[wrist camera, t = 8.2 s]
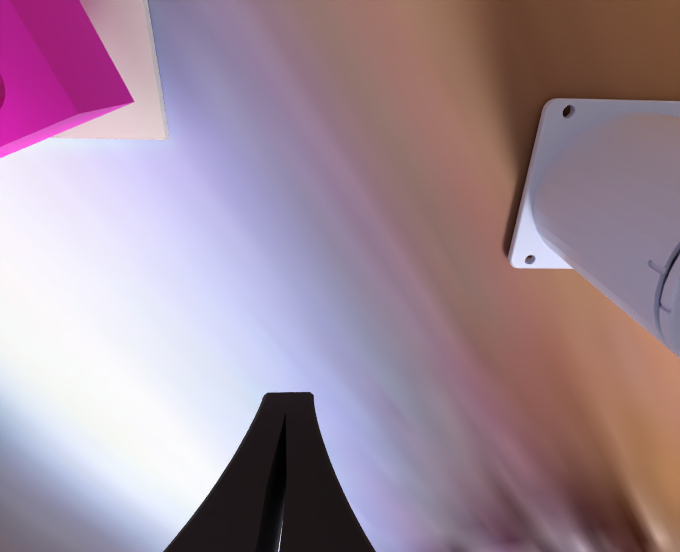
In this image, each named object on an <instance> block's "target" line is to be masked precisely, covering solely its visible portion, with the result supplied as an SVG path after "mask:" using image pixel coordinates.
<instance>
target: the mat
mask: <svg viewBox="0 0 680 552" xmlns="http://www.w3.org/2000/svg"><path fill="white" fill-rule="evenodd" d="M79 1H80V3H81V4H82V6H83V8H84V10H85V12H86V14H87V15H88V17H89V19H90V21H91V23H92V24H93V26H94V28H95V30H96V32H97V34H98V35H99V37H100V39H101V41H102V43H103V45H104V46H105V48H106V50H107V52H108V54H109V56H110V57H111V59H112V61H113V63H114V65H115V67H116V68H117V70H118V72H119V74H120V76H121V78H122V79H123V81H124V83H125V85H126V87H127V89H128V90H129V92H130V94H131V96H132V98H133V100H134V101H135V102H133V103H131V104H129V105H126V106H124V107H121V108H119V109H117V110H114V111H112V112H109V113H107V114H105V115H102V116H100V117H97V118H95V119H93V120H90V121H88V122H85V123H83V124H81V125H78V126H76V127H73V128H71V129H69V130H66V131H64V132H61V133H59V134H57V135H54V136H52V137H49V138H96V139H148V140H167V139H169V138H170V137H169V130H168V124H167V118H166V112H165V106H164V99H163V93H162V87H161V81H160V75H159V68H158V62H157V56H156V50H155V44H154V37H153V31H152V25H151V19H150V13H149V6H148V0H79Z"/></svg>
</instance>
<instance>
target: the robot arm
mask: <svg viewBox="0 0 680 552" xmlns="http://www.w3.org/2000/svg"><path fill="white" fill-rule="evenodd" d="M568 105H569V106H570V112H569V114H568V115H567V116H566V117H564V116H563V110H564V108H565V107H566V106H568ZM529 255H532V257H531V259H530V260H528V261H525V259H526V257H527V256H529ZM508 261H509V263H510V264H511V265H512V266H513V267H515V268H569V269H574V270H576V271H577V272H578V273H579V274H580V275H581V276H583V277H584V278H585V279H586V280H587V281H589V282H590V283H591V284H592V285H593V286H595V287H596V288H597V289H598V290H599V291H600V292H602V293H603V294H604V295H605V296H606V297H608V298H609V299H610V300H611V301H612V302H613V303H615V304H616V305H617V306H618V307H619V308H621V309H622V310H623V311H624V312H625V313H627V314H628V315H629V316H630V317H631V318H632V319H634V320H635V321H636V322H637V323H638V324H640V325H641V326H642V327H643V328H644V329H646V330H647V331H648V332H649V333H650V334H651V335H653V336H654V337H655V338H656V339H657V340H659V341H660V342H661V343H662V344H663V345H665V346H666V347H667V348H668V349H669V350H670V351H672V352H673V353H674V354H676V355H677V356H678V357H679V358H680V101H658V100H615V99H573V98H554V99H551V100H549V101H548V102H547V103H546V104H545V105H544V107H543V110H542V113H541V118H540V122H539V126H538V130H537V135H536V139H535V143H534V148H533V152H532V156H531V160H530V165H529V169H528V173H527V178H526V182H525V186H524V190H523V195H522V199H521V203H520V208H519V212H518V216H517V220H516V225H515V229H514V233H513V238H512V242H511V246H510V250H509V255H508ZM282 521H283V524H282ZM281 528H282V533H281ZM280 535H281V542H280V550H279V552H376V551H375V550H374V548H373V546H372V545H371V543H370V541H369V540H368V538H367V536H366V535H365V533H364V531H363V529H362V527H361V526H360V524H359V522H358V520H357V518H356V516H355V514H354V512H353V511H352V509H351V507H350V505H349V503H348V501H347V499H346V496H345V494H344V492H343V490H342V488H341V486H340V483H339V481H338V479H337V476H336V474H335V472H334V469H333V467H332V464H331V462H330V459H329V456H328V453H327V451H326V448H325V445H324V442H323V439H322V436H321V433H320V429H319V425H318V421H317V417H316V413H315V407H314V395H313V394H312V393H310V392H281V393H267V394H265V395H264V397H263V399H262V402H261V404H260V407H259V409H258V411H257V413H256V416H255V418H254V420H253V422H252V424H251V426H250V428H249V430H248V431H247V433H246V435H245V437H244V439H243V440H242V442H241V444H240V446H239V447H238V449H237V451H236V453H235V454H234V456H233V458H232V459H231V461H230V462H229V464H228V466H227V467H226V469H225V470H224V472H223V473H222V475H221V477H220V478H219V480H218V481H217V483H216V484H215V486H214V487H213V489H212V490H211V491H210V493H209V494H208V496H207V497H206V498H205V500H204V501H203V503H202V504H201V505H200V507H199V508H198V509H197V511H196V512H195V513H194V515H193V516H192V517H191V518H190V520H189V521H188V522H187V523H186V525H185V526H184V527H183V528H182V530H181V531H180V532H179V533H178V535H177V536H176V537H175V538H174V539H173V541H172V542H171V543H170V544H169V545H168V547H167V548H166V549H165V550H164V551H163V552H278V548H279V541H280Z"/></svg>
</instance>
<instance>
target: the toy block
mask: <svg viewBox="0 0 680 552" xmlns="http://www.w3.org/2000/svg"><path fill="white" fill-rule="evenodd" d="M133 102H135V101H134V100H133V98H132V96H131V94H130V92H129V90H128V89H127V87H126V85H125V83H124V81H123V79H122V78H121V76H120V74H119V72H118V70H117V68H116V67H115V65H114V63H113V61H112V59H111V57H110V56H109V54H108V52H107V50H106V48H105V46H104V45H103V43H102V41H101V39H100V37H99V35H98V34H97V32H96V30H95V28H94V26H93V24H92V23H91V21H90V19H89V17H88V15H87V14H86V12H85V10H84V8H83V6H82V4H81V3H80V1H79V0H0V158H2V157H4V156H6V155H9V154H11V153H14V152H16V151H18V150H21V149H23V148H25V147H28V146H30V145H33V144H35V143H37V142H40V141H42V140H45V139H47V138H49V137H52V136H54V135H57V134H59V133H61V132H64V131H66V130H69V129H71V128H73V127H76V126H78V125H81V124H83V123H85V122H88V121H90V120H93V119H95V118H97V117H100V116H102V115H105V114H107V113H109V112H112V111H114V110H117V109H119V108H121V107H124V106H126V105H129V104H131V103H133Z"/></svg>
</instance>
